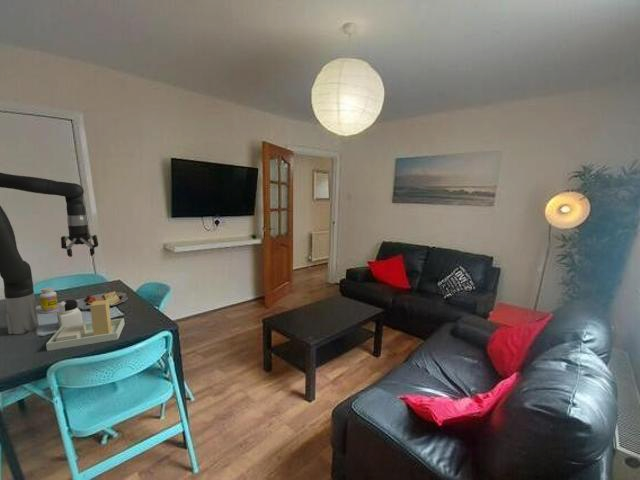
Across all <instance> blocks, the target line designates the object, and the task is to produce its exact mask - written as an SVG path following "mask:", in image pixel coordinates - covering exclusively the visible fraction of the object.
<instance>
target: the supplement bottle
mask: <svg viewBox="0 0 640 480" xmlns="http://www.w3.org/2000/svg"><path fill="white" fill-rule="evenodd" d="M40 291H41V293H40V294H39V303H40V310H41V313H43V314H51V313H55V312H58V310H59V303H58V295H57V292H56V291H54V287H53V286H48V287H47V286H46V287H43V288H40Z"/></svg>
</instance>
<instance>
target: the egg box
mask: <svg viewBox="0 0 640 480" xmlns="http://www.w3.org/2000/svg"><path fill="white" fill-rule="evenodd" d="M85 323H86V322H85ZM85 323H84V322H83V324H75V325H68V326H66V327H65V328H64V329H63V330H62V331H61V333H60V334H59V335H58V336H57V337H56V342H57V341H63V340H70V339H76V338H82V337H83V336H84V334H85V333H86V325H85Z"/></svg>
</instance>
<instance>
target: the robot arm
mask: <svg viewBox="0 0 640 480" xmlns="http://www.w3.org/2000/svg"><path fill="white" fill-rule="evenodd" d="M0 188H4V189H11V190H18V191H22V192H28V193H35V194H40V195H41V194H42V195H50V196H60V197H64V199H65V203H66V214H67V215H66V216H67V219H66V221H67V222H66V223H67V229H68V236H66V235H63V236H61V237H60V244H61V245H60V247H61V249H64V250H66V254H67V256H68V257H70V258H73V250H72V248H73V246H74V245H77V246H78V245H86V246H87V247H89V254H90V257H92V256H94V255H95V248H97V247H99V241H98V235H97V234H94V235H90V234H89V227H88V225H89V224H88V218H87V214H86V207H85V206H86V205H85V204H84V197H83V195H84V193H85V191H84V187H83V186H82V185H80V184H78V183H73V182H66V181H56V180H53V179H47V178H42V177H34V176H27V175H19V174H18V175H17V174H10V173H4V172H0ZM90 239H91V240H92V242H91V241H90ZM68 240H69V241H70V243H69V244H68V245H67V241H68ZM92 243H93V244H92ZM17 246H18V245H17V241H16V234H15V233H14V228H13V227H12V223H11V221H10V219H9V217H8V215H7V214H6V212H5V210H4V208H3V207H2V206H1V205H0V277H1V279H2V281H3V293H4V298H5V305H6V310H7V313H6V314H5V320H6V326H7V332H8V333H7V334H8V335H23V334H26V333H29V331H31V330H34V329H36V328H38V327H39V325H40V324H39V318H38V311H37V305H36V304H37V303H36V298H35V293H34V281H33V273H32V269H31V266H30V265H31V264H30V263H28V262H27V261H25V260H23V258H22V256H21V255H20V251H19V250H18V247H17Z"/></svg>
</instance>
